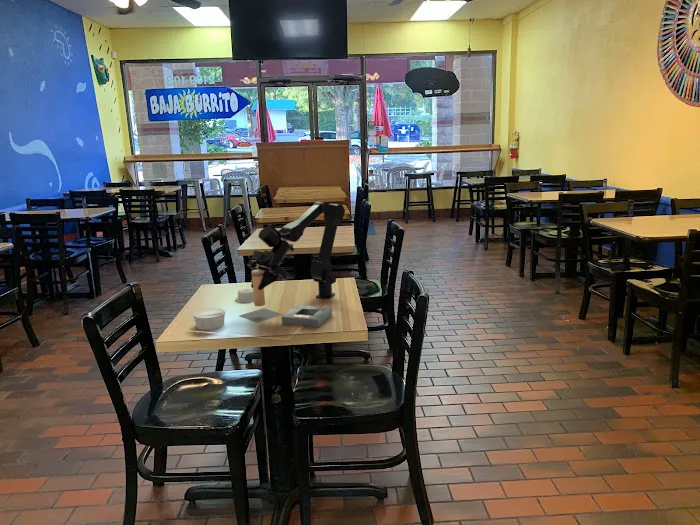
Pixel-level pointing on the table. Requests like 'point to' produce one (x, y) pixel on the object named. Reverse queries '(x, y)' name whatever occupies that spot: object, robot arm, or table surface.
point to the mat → (260, 315)
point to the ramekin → (209, 318)
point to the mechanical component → (245, 295)
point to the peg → (258, 294)
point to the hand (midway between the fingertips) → (255, 288)
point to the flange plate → (307, 316)
